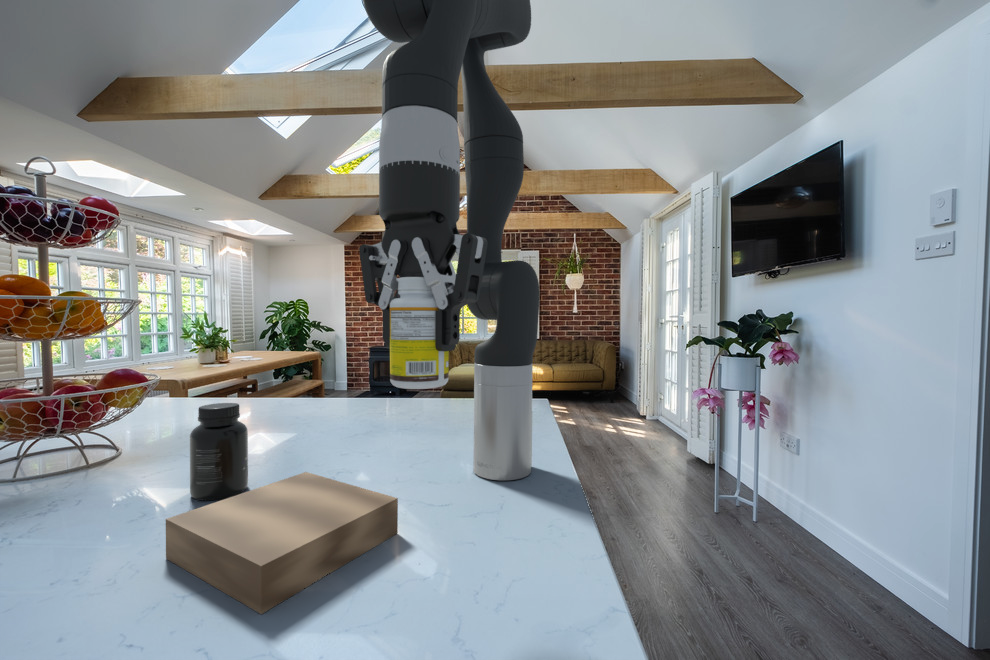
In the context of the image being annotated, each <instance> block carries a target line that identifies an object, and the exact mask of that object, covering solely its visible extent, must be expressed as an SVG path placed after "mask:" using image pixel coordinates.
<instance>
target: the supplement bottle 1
mask: <svg viewBox="0 0 990 660" xmlns="http://www.w3.org/2000/svg"><path fill="white" fill-rule="evenodd" d="M197 409H198V413H197V414H198V417H197V421H198V423H199V422H200V424H199V425H197V426H195V428H193V429H192V431H191V432H190V434H189V491H190V492H189V493H190V496H191V498H193V499H194V500H198V501H214V500H217V501H218V500H224V499H227V498H230V497H233V496H236V495H239V494H242V493H243V492H244V491H245V490H246V489H247V487H248V485H249V435H248V427H247V425H246V424H245V423H243V422H241V421H239V418H241V413H240V403H238V402H237V403H235V402H222V403H211V404H210V403H209V404H205V405H204V404H203V405H202V406H201V405H200V406H199V407H198V408H197Z"/></svg>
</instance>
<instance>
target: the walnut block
mask: <svg viewBox="0 0 990 660" xmlns="http://www.w3.org/2000/svg"><path fill="white" fill-rule="evenodd" d="M398 502H399V498H398V497H395V496H391V495H388V494H384V493H380V492H377V491H373V490H370V489H367V488H365V487H364V488H363V487H361V486H356V485H353V484H349V483H346V482H343V481H338V480H336V479H332V478H329V477H326V476H325V477H324V476H322V475H318V474H314V473H312V472H308V471H305V472H302V473H299V474H296V475H293V476H289V477H287V478H284V479H281V480H278V481H275V482H272V483H269V484H266V485H263V486H260V487H258V488H254V489H251V490H248V491H245V492H241V493H239V494H236V495H234V496H231V497H227V498H223V499H220V500H219V501H218V500H217V501H216V502H212V503H209V504H206V505H203V506H201V507H198V508H194V509H191V510H189V511H186V512H183V513H179V514H176V515H173V516H171V517H167V518H165V559H166V560H168V561H169V562H171V563H173V564H174V565H176V566H178V567H179V568H182V569H183V570H184V571H186V572H188V573H190V574H191V575H194V576H195V577H197V578H198V579H199V580H201V581H204V582H205V583H206V584H209V585H210V586H212V587H214V588H216V589H217V590H218V591H221V592H222V593H224V594H225V595H227V596H229V597H231V598H232V599H235V600H236V601H238V602H240V603H241V604H243V605H245V606H247V607H248V608H249V609H252V610H253V611H255V612H256V613H259V614H260V615H263V614H264V613H266V612H267V611H270V610H271V609H273V608H274V607H276V606H277V604H278V605H279V604H282V602H285V601H286V600H288V599H291V597H292V596H295V595H296V594H298V593H301V591H304V590H305V589H306V588H308V587H310V586H311V585H313V584H314V582H315V583H316V582H318V581H320V580H322V579H323V578H324V576H325V577H327V576H328V575H330V574H332V573H334V572H335V571H336V570H338V569H340V568H342V567H343V566H345V565H346V564H348V563H350V562H352V561H353V560H355V559H357V558H358V557H360V556H362V555H363V554H365V553H367V552H368V551H371V550H372V549H374V548H375V547H378V546H379V545H381V544H382V543H384V542H386V541H387V540H388V539H390V538H392V537H394V536H395V535H397V534H398V532H399V531H398V528H399V527H398V525H399V522H398V520H399V519H398V518H399V517H398V516H399V515H398V514H399V511H398V509H399V503H398ZM329 573H330V574H329ZM327 574H328V575H327ZM326 575H327V576H326ZM322 577H323V578H322ZM321 578H322V579H321ZM317 580H318V581H317ZM312 583H313V584H312ZM304 588H305V589H304Z"/></svg>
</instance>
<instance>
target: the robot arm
mask: <svg viewBox="0 0 990 660" xmlns="http://www.w3.org/2000/svg"><path fill="white" fill-rule="evenodd" d="M362 3H363V7H364V10H365V12H366V14H367V16H368V19H369V21H370V22H371V24H372V25H373V26H374V27H375V29H376V31H378V32H379V34H381V35H382V36H383V37H385V38H386V39H387V40H389V41H392V42H394V43H399V44H400V43H401V44H403V45H401V46H399V47H398V48H395V49H394V50H393V51H391V52H390V53H389V54H388V55H387V56H386V59H385V60H384V62H383V66H382V72H381V75H382V76H381V128H380V134H379V135H380V136H379V144H378V145H379V146H378V148H379V149H378V150H379V151H378V156H379V157H378V161H379V162H378V163H379V164H378V165H379V166H378V188H379V189H378V209H379V210H378V214H379V217H380V219H381V220H382V221H383V224H384V233H383V235H382V238H381V241H380V242H378V243H375V244H372V245H371V244H366V243H363V244H361V245H360V246H359V251H358V252H359V258H360V268H361V274H362V282H363V290H364V297H365V298H364V299H365V302H366V303H368V304H373V305H376V306H378V307H379V308H380V309H381V311H382V340H383V342H384V345H385V346H384V347H385V348H386V349H390V302H391V301H392V300H393V299H396V298H400V295H399V294H398V291H399V290H398V280H399V278H401V277H424V278H425V281H426V284H427V285H428V286H429V287H430V288H431V289H432V292H433V295H434V298H435V301H436V304H437V306H438V308H439V309H440V310H436V350H437V351H449V352H451V351H455V349H456V345H459V342H460V335H461V334H460V330H461V329H460V323H461V322H460V319H461V316H460V315H461V310H462V308H463V307H465V306H467V307H468V309H469V311H470V313H471V314H472V315H473V316H475V318H477V319H479V320H483V321H496V326H495V332H494V333H493V334H492V336H490V338H489V339H487V340H484V341H482V342H480V343H478V344H477V345H476V346H475V348H474V356H473V357H474V360H473V361H474V365H473V367H474V368H473V369H474V370H473V371H474V373H473V376H474V379H473V380H474V382H473V384H474V385H473V386H474V387H473V468H472V469H473V473H474V474H475V475H476V476H478V477H480V478H484V479H487V480H493V481H514V480H515V481H516V480H520V479H524V478H526V477H528V476H529V475H530V474H531V473H532V466H533V465H532V463H533V458H532V457H533V360H534V359H533V358H534V357H533V356H534V352H535V349H536V346H537V342H538V328H539V327H538V326H539V312H540V296H541V295H540V294H541V293H540V291H541V290H540V282H539V278H538V274H537V273H536V270H535V269H534V267H533V266H532V265H531V263H529V262H526V261H524V260H506V261H503V260H502V243H503V242H502V241H503V233H504V230H505V225H506V223H507V220H508V219H509V216H510V214H511V211H512V209H513V207H514V204H515V202H516V200H517V198H518V195H519V192H520V189H521V188H522V184H523V180H524V173H525V172H524V169H525V167H524V166H525V164H524V163H525V161H524V159H525V158H524V135H523V131H522V128H521V126H520V124H519V121H518V120H517V118H516V116H515V115H514V113H513V112H512V110H511V109H510V107H509V106H508V105H507V103H506V102H505V101H504V99H503V98H502V96H501V95H500V94H499V92H498V90H497V89H496V87H495V85H494V84H493V83H492V80H491V79H490V76H489V74H488V72H487V68H486V65H485V53H486V52H488V51H493V50H499V49H503V48H507V47H508V48H509V47H512V46H513V47H514V46H516V45H519V44H521V43H523V42H524V41H525V40H526V39H527V38H528V36H529V34H530V31H531V26H532V7H531V0H362ZM404 43H405V44H404ZM460 73H461V74H460ZM460 76H461V82H462V101H463V102H462V103H463V105H462V106H463V151H464V152H463V154H464V173H465V174H464V175H465V184H466V185H465V186H466V187H465V188H466V191H465V192H466V233H464V234H460V232H459V230H458V225H457V222H458V221H459V220H460V209H461V208H460V203H461V202H460V201H461V200H460V199H461V184H460V183H461V176H460V175H461V172H460V171H461V147H460V138H459V131H458V129H459V127H458V126H459V125H458V101H459V100H458V97H459V94H458V91H459V90H458V89H459V80H460ZM455 255H457V257H458V259H457V267H456V271H455V269H454V264H453V262H452V260H453V257H454V256H455ZM397 276H399V277H397Z"/></svg>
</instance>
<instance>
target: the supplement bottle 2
mask: <svg viewBox="0 0 990 660" xmlns="http://www.w3.org/2000/svg"><path fill="white" fill-rule="evenodd" d="M398 278H399V280H398V290H399V291H398V294H399V295H400V298H396V299H393V300H392V301H391V302H390V348H389V377H390V379H389V381H390V383H391V384H392V386H393V387H396V388H399V389H405V390H426V389H428V390H429V389H436V388H441V387H444V386H445V385H446V384H447V383H448V382H449V378H450V377H449V372H450V371H449V370H450V369H449V366H450V365H449V363H450V361H449V360H450V359H449V358H450V356H449V354H450V353H449V352H450V351H437V350H436V310H440V309H439V308H438V306H437V304H436V301H435V298H434V295H433V292H432V289H431V288H430V287H429V286H428V285H427V284H426V281H425V278H424V277H401V278H400V277H398Z"/></svg>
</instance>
